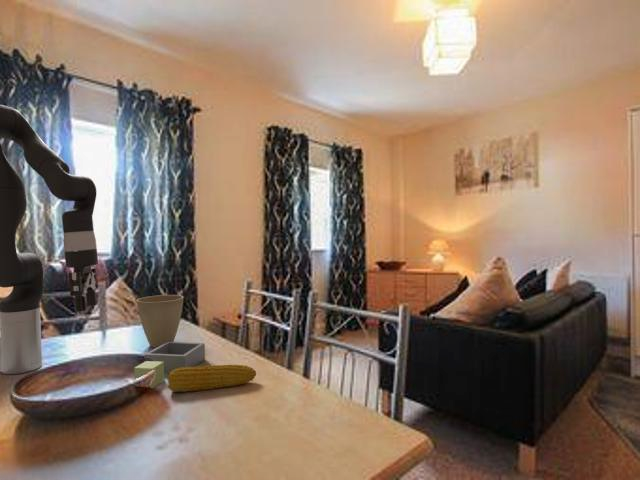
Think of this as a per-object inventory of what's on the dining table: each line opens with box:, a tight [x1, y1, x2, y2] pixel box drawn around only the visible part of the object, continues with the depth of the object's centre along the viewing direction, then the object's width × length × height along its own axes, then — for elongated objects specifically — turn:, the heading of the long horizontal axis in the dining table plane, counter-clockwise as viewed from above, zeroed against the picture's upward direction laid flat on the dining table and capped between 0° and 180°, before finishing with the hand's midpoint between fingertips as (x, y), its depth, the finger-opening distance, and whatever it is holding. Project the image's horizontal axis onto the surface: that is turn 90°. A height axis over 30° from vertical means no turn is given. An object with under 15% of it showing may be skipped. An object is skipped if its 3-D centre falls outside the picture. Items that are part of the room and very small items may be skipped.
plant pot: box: [136, 294, 184, 348], centre depth 135 cm, size 15×15×16 cm
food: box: [167, 364, 257, 393], centre depth 98 cm, size 21×6×6 cm, turn 107°
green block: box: [133, 361, 165, 389], centre depth 101 cm, size 5×5×5 cm
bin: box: [143, 341, 206, 374], centre depth 114 cm, size 12×12×5 cm
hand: (86, 308), depth 107 cm, fingers open, 8 cm apart
